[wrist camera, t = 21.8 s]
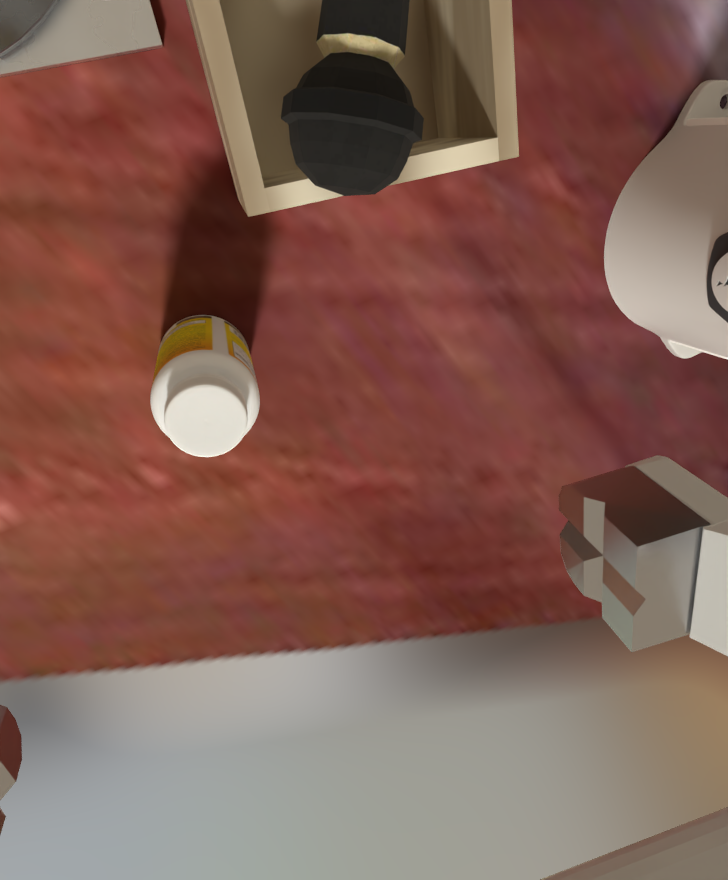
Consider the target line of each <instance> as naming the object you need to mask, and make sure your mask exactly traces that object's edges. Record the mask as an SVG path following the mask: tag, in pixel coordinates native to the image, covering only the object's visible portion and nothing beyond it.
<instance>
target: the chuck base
mask: <svg viewBox="0 0 728 880" xmlns="http://www.w3.org/2000/svg"><path fill="white" fill-rule="evenodd" d="M158 48H163V44H162V41H161V37H160V34H159V31H158V27H157V24H156V20H155V17H154V13H153V10H152V6H151V3H150V0H60V1H59V2H58V4H57V5H56V7H55V8H54V9H53V11H52V12H51V14H50V15H49V16H48V18H47V19H46V20H45V22H44V23H43V24H42V25H41V26H40V27H39V28H38V29H37V30H36V31H35V32H34V33H33V34H32V35H31V36H30V37H29V38H28V39H27V40H25V41H24V42H23V43H21V44H20V45H18V46H17V47H15V48H14V49H13V50H11V51H10V52H8V53H7V54H5V55H4V56H2V57H0V77H6V76H11V75H16V74H22V73H27V72H33V71H38V70H44V69H49V68H54V67H60V66H65V65H71V64H76V63H82V62H87V61H92V60H98V59H103V58H109V57H114V56H120V55H125V54H131V53H136V52H141V51H147V50H152V49H158Z"/></svg>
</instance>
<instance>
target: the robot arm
mask: <svg viewBox="0 0 728 880" xmlns="http://www.w3.org/2000/svg"><path fill="white" fill-rule="evenodd" d="M724 95H726V97H727V104H726V106H725V107H724V108H723V109H721V107H720V100H721V98H722V97H723V96H724ZM604 266H605V274H606V280H607V284H608V287H609V290H610V293H611V295H612V297H613V299H614V301H615V303H616V304H617V306H618V307H619V308H620V310H621V311H622V312H623V313H624V314H625V315H626V316H627V317H628V318H629V319H630V320H632V321H633V322H635V323H636V324H638V325H639V326H642V327H644V328H646V329H648V330H650V331H652V332H654V333H655V334H657V335H658V336H660V338H661V339H662V341H663V342H664V344H665V345H666V347H667V348H668V350H669V351H670V352H671V353H672V354H673V355H675V356H677V357H680V358H690V357H693V356H695V355H697V354H699V353H701V352H705V353H708V354H712V355H715V356H718V357H721V358H725V359H728V80H707V81H704V82H702V83H701V84H700V85H699V86H698V87H697V88H696V89H695V90H694V91H693V93H692V94H691V96H690V97H689V99H688V101H687V102H686V104H685V106H684V108H683V109H682V111H681V113H680V115H679V117H678V119H677V121H676V123H675V125H674V127H673V128H672V129H671V130H670V132H669V133H668V134H667V135H666V137H665V138H664V139H663V140H662V141H661V142H660V143H659V144H658V145H657V146H656V147H655V148H654V149H653V150H652V151H651V152H650V153H649V154H648V155H647V156H646V157H645V158H644V160H643V161H642V162H641V163H640V165H639V166H638V167H637V168H636V170H635V171H634V172H633V174H632V175H631V177H630V178H629V180H628V182H627V183H626V185H625V187H624V188H623V190H622V192H621V194H620V196H619V198H618V200H617V202H616V205H615V207H614V210H613V212H612V215H611V218H610V222H609V225H608V229H607V234H606V240H605V249H604ZM559 511H560V512H561V513H562V514H563V515H564V516H565V517H566V518H567V519H568V522H567V524H566V525H565V527H564V529H563V530H562V532H561V533H560V546H561V554H562V557H563V560H564V564H565V567H566V570H567V572H568V573H569V575H570V577H571V579H572V581H573V582H574V584H575V585H576V586H577V588H578V589H579V590H580V591H581V592H582V594H583V595H584V596H587V597H589V598H592V599H594V600H597V601H599V602H602V618H603V619H604V620H605V621H606V622H607V623H608V625H609V626H610V627H611V628H612V630H613V631H614V632H615V633H616V634H617V635H618V637H619V638H620V639H621V640H622V641H623V643H624V644H625V645H626V646H627V647H628V648H629V650H630V651H631V652H634V651H637V650H640V649H643V648H647V647H650V646H653V645H656V644H659V643H663V642H666V641H669V640H672V639H676V638H678V637H682V636H685V635H688V634H690V638H692V639H694V640H696V641H698V642H700V643H702V644H704V645H706V646H708V647H710V648H712V649H714V650H716V651H718V652H720V653H722V654H724V655H726V656H728V498H727V497H725V496H724V495H722V494H721V493H719V492H718V491H716V490H715V489H713V488H712V487H711V486H709V485H708V484H706V483H705V482H703V481H702V480H700V479H699V478H697V477H696V476H694V475H693V474H691V473H690V472H688V471H687V470H685V469H684V468H682V467H681V466H680V465H678V464H677V463H675V462H674V461H672V460H671V459H669V458H667V457H663V456H658V455H657V456H654V457H651V458H648V459H645V460H642V461H639V462H636V463H633V464H630V465H627V466H625V467H624V468H620V469H617V470H614V471H610V472H607V473H604V474H601V475H597V476H594V477H591V478H588V479H584V480H581V481H578V482H575V483H571V484H568V485H565V486H562V488H561V491H560V494H559ZM21 751H22V749H21V734H20V731H19V728H18V726H17V723H16V720H15V718H14V717H13V715H12V714H11V712H10V711H9V710H8V708H7V707H5V706H2V705H0V800H1V799H2V798H3V797H4V795H5V794H6V793H7V792H8V791H9V789H10V788H11V787H12V786H13V784H14V783H15V782H16V779H17V776H18V772H19V768H20V764H21V761H22V753H21ZM5 817H6V816H5V814H4V813H3V811H2V809H1V808H0V834H1V831H2V827H3V824H4V821H5ZM540 880H728V807H726V808H724V809H721V810H719V811H716V812H714V813H711V814H709V815H706V816H703V817H701V818H698V819H696V820H693V821H690V822H688V823H685V824H683V825H680V826H677V827H675V828H672V829H670V830H667V831H664V832H662V833H659V834H657V835H654V836H652V837H649V838H646V839H644V840H641V841H639V842H636V843H634V844H631V845H628V846H626V847H623V848H621V849H618V850H615V851H613V852H610V853H608V854H605V855H602V856H600V857H597V858H595V859H592V860H590V861H587V862H584V863H582V864H580V865H577V866H574V867H571V868H569V869H566V870H564V871H561V872H559V873H556V874H553V875H551V876H548V877H546V878H543V879H540Z"/></svg>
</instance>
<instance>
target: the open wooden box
mask: <svg viewBox="0 0 728 880" xmlns="http://www.w3.org/2000/svg"><path fill="white" fill-rule="evenodd" d="M186 4H187V7H188V11H189V15H190V19H191V23H192V26H193V30H194V34H195V38H196V42H197V45H198V49H199V53H200V57H201V61H202V64H203V68H204V72H205V76H206V80H207V83H208V87H209V91H210V95H211V99H212V102H213V106H214V110H215V114H216V118H217V121H218V125H219V129H220V133H221V137H222V140H223V144H224V148H225V152H226V156H227V159H228V163H229V167H230V171H231V174H232V178H233V182H234V186H235V190H236V193H237V197H238V200H239V202H240V204H241V205H242V207H243V209H244V210H245V212H246V214H247V216H248V217H250V216H255V215H259V214H264V213H268V212H273V211H277V210H282V209H286V208H291V207H295V206H300V205H304V204H309V203H313V202H318V201H322V200H327V199H331V198H336V197H340V196H343V195H341V194H338V193H335V192H332V191H329V190H326V189H324V188H321V187H318V186H315V185H314V184H313V183H312V182H311V181H310V179H309V178H308V177H307V176H306V175H305V174H304V173H303V172H302V171H301V170H300V169H299V167H298V166H297V165H296V163H295V160H294V156H293V152H292V148H291V145H290V135H289V125H288V124H287V123H286V122H285V121H283V120H282V119H281V112H282V104H283V97H284V96H285V95H286V94H287V93H289V92H290V91H291V90H293V89H295V88H296V87H297V85H298V83H299V81H300V80H301V78H302V76H303V74H305V73H306V72H307V71H308V70H310V69H311V68H312V67H313V66H315V65H316V64H317V63H318V62H320V61H321V60H322V59H324V56H323V54H322V52H321V50H320V48H319V47H318V45H317V43H316V40H317V33H318V26H319V19H320V12H321V5H322V0H186ZM394 70H395V72H396V73H397V74H398V76H399V77H400V78H401V80H402V81H403V83H404V84H405V85H406V87H407V88H408V89H409V91H410V93H411V97H412V101H413V104H414V107H415V108H416V109H417V110H418V112H419V113H420V114H421V115H422V117H423V118H424V122H423V132H422V140H421V141H418V142H415V143H413V145H412V148H411V151H410V154H409V157H408V160H407V163H406V165H405V166H404V168H403V170H402V172H401V174H400V176H399V178H398V179H397V180H396V181H394V182H393V183H391V184H390V185H394V184H398V183H403V182H407V181H412V180H416V179H421V178H425V177H430V176H434V175H439V174H443V173H447V172H452V171H456V170H461V169H465V168H470V167H474V166H479V165H483V164H488V163H492V162H497V161H501V160H506V159H510V158H515V157H519V148H518V127H517V106H516V85H515V64H514V43H513V22H512V1H511V0H410V2H409V14H408V26H407V38H406V50H405V57H404V58H403V59H402V60H401V61H400V63H399V64H398V65H397V66H396V67H395V68H394ZM388 186H389V185H388Z"/></svg>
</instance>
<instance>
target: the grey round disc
mask: <svg viewBox="0 0 728 880" xmlns="http://www.w3.org/2000/svg"><path fill="white" fill-rule="evenodd" d="M59 1H60V0H0V57H2V56H4V55H5V54H7V53H8V52H10V51H11V50H13V49H14V48H15V47H17V46H18V45H20V44H21V43H23V42H24V41H25V40H27V39H28V38H29V37H30V36H31V35H32V34H33V33H34V32H35V31H36V30H37V29H38V28H39V27H40V26H41V25H42V24H43V23H44V22H45V20H46V19H47V18H48V16H49V15H50V14H51V12H52V11H53V9H54V8H55V7H56V5H57V4H58V2H59Z"/></svg>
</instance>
